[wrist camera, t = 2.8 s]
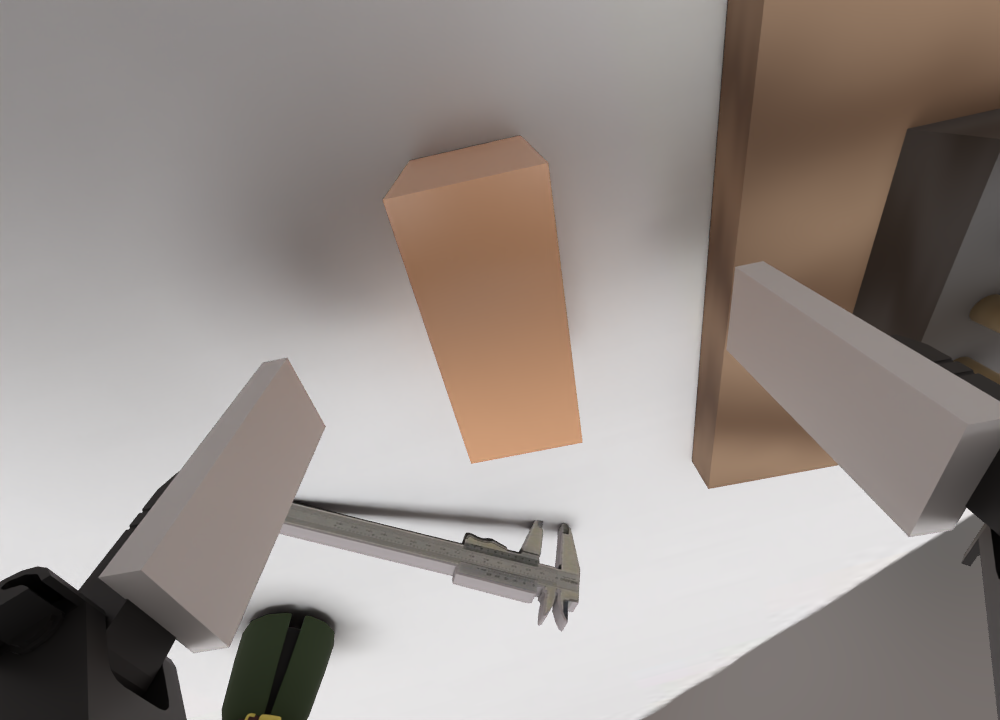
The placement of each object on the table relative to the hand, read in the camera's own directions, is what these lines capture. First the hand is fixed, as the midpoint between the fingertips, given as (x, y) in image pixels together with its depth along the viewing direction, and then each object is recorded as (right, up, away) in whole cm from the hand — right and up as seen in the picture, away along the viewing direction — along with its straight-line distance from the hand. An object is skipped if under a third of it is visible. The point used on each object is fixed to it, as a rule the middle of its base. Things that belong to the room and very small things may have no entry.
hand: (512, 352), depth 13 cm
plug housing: (-1, +4, +5) cm, 6 cm away
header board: (+15, +4, +6) cm, 17 cm away
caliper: (-6, -9, +13) cm, 17 cm away
